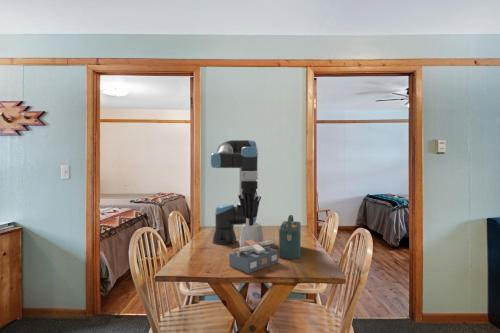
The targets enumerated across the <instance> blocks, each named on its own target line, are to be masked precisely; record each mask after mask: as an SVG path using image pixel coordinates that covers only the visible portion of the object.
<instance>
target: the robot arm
mask: <svg viewBox="0 0 500 333" xmlns="http://www.w3.org/2000/svg"><path fill="white" fill-rule="evenodd" d="M257 147H258V146H257V143H256V141H255V140H251V139H250V140H249V139H248V140H247V139H245V140H243V139H242V140H237V139H236V140H234V139H233V140H226V141H224V142H222V143H221V144H219V145H218V147H217V151H216V152H212V153H211V155H210V165H211V168H214V169H239V188H238V189H239V193H238V194H239V195H238V196H237V197H238V200H239V201H238V202H237V203H236V206H235V205H234V204H233V203H229V204H228V203H227V204H221V205H218V206H216V208H215V214H214V215H215V223H214V224H215V228H214V229H215V230H214V233H213V237H212V243H213V244H218V245H230V244H234V243H236V242H237V236H236V232H235V229H234V228H235V227H234V226H242V225H243V224H244V223H245V224H246V233H251V232H253V223H257V217H258V213H259V212H258V211H259V206H260V202H261V200H262V196H260V195H258V191H257V189H258V187H259V186H258V181H257V180H258V176H259V175H258V174H259V173H258V162H259V161H258V158H259V156H258V154H259V153H258V148H257Z"/></svg>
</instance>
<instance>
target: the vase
mask: <svg viewBox="0 0 500 333" xmlns="http://www.w3.org/2000/svg"><path fill="white" fill-rule="evenodd" d="M240 229H241V231H240V237H239V240H238V241H239V242H238V244H239V247H246V246H247V245H245V244H244V241H246V240H253V241H254V242H256V243H258V242H264V241H265V239H264V234H263V228H262V224H261V223H259V222H255V223H253V232H251V233H246V224H245V223H244V224H243V225H241V228H240Z"/></svg>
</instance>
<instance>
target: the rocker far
mask: <svg viewBox="0 0 500 333" xmlns="http://www.w3.org/2000/svg"><path fill="white" fill-rule="evenodd" d="M257 244H259V245H260V246H261V247H267V246H268V244H270V245H271V244H274V239H271V240H264V242H258V243H257Z"/></svg>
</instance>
